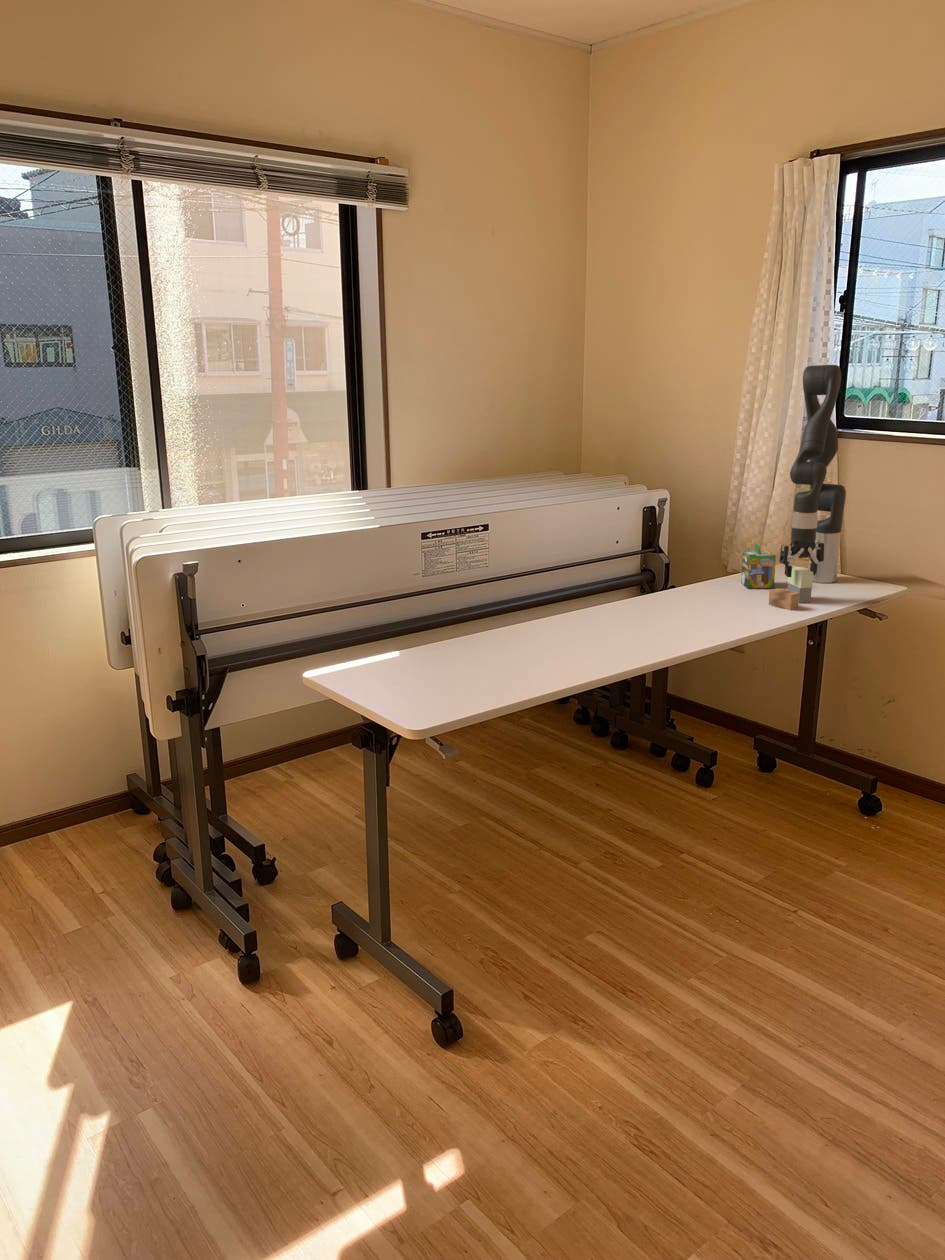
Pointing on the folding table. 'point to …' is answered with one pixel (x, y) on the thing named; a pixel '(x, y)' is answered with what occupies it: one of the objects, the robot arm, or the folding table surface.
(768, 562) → the chalk box
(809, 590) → the charcoal brick
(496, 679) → the folding table surface
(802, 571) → the sage brick
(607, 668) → the folding table surface
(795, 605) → the walnut brick
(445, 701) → the folding table surface
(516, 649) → the folding table surface
